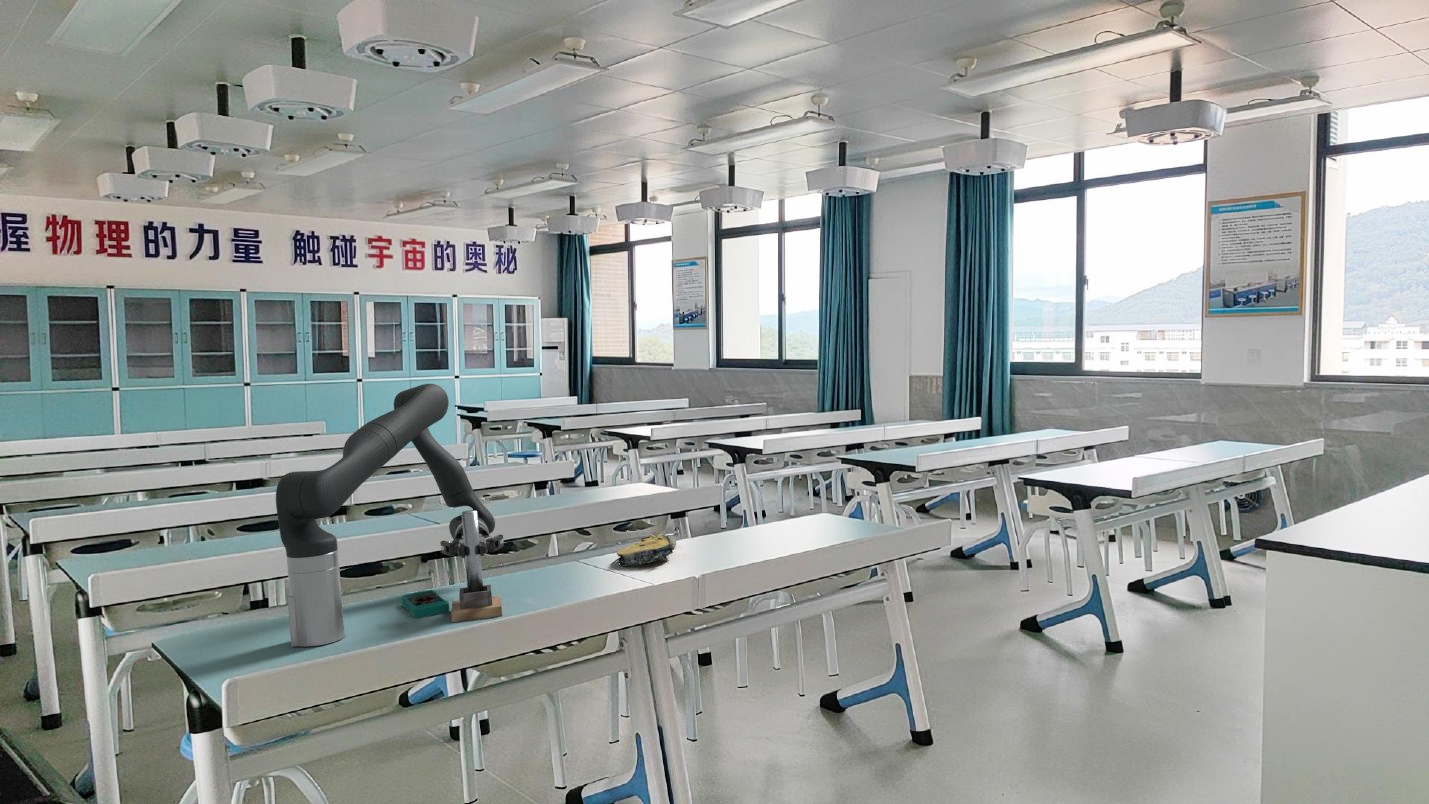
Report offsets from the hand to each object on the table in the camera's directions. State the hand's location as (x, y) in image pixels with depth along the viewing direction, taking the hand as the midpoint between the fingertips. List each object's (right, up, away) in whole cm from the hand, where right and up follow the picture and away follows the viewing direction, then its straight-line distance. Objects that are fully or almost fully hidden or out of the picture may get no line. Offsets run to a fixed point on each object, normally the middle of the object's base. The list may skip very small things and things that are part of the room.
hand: (472, 551), depth 193 cm
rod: (0, -10, +3) cm, 10 cm away
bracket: (0, -13, +3) cm, 14 cm away
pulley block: (+34, -10, +50) cm, 61 cm away
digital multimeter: (-13, -15, +11) cm, 22 cm away
